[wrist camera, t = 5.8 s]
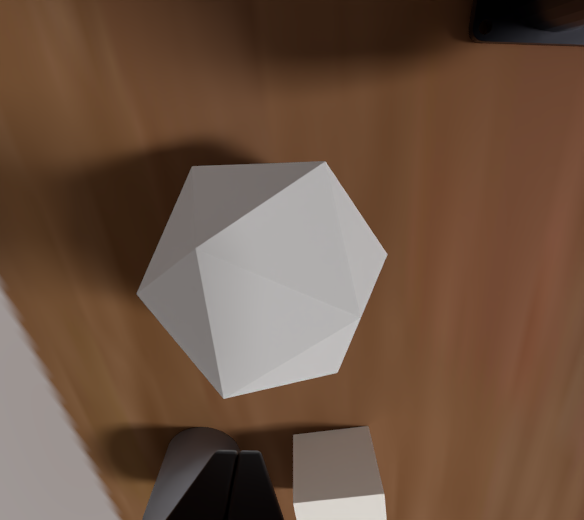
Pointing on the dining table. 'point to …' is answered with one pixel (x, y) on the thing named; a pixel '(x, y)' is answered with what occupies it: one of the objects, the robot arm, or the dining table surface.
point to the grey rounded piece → (184, 467)
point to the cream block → (337, 476)
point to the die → (262, 273)
